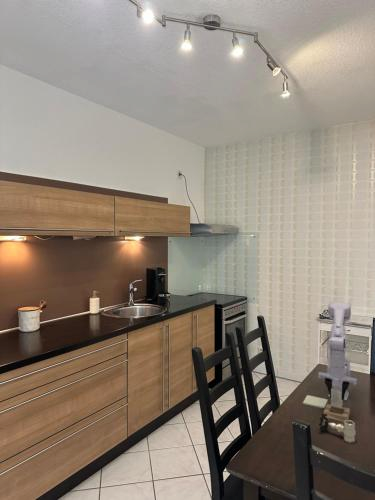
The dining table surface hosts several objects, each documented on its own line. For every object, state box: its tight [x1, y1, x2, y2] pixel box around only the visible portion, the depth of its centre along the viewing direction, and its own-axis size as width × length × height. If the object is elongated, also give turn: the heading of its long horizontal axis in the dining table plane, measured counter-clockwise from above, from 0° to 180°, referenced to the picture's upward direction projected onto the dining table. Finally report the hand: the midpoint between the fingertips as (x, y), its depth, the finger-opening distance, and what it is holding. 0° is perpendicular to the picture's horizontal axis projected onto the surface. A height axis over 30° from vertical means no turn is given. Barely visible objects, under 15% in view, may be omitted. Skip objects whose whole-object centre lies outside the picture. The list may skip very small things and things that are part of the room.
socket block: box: [322, 403, 351, 423], centre depth 146 cm, size 9×9×2 cm
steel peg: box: [330, 386, 344, 408], centre depth 145 cm, size 4×4×7 cm
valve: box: [318, 412, 357, 444], centre depth 130 cm, size 7×7×12 cm
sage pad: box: [302, 394, 329, 409], centre depth 158 cm, size 9×9×1 cm
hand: (336, 397), depth 146 cm, fingers closed on steel peg, 4 cm apart
